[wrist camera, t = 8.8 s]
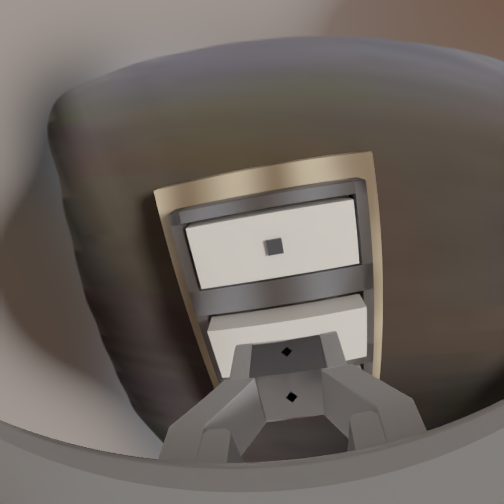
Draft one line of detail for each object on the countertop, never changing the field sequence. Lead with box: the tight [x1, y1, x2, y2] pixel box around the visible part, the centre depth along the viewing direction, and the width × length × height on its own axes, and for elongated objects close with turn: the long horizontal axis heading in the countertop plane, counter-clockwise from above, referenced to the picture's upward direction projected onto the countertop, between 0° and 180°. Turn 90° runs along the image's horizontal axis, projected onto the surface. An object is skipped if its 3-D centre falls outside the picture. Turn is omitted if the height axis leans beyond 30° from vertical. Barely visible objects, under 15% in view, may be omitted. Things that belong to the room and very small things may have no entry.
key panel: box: [154, 151, 383, 422], centre depth 24 cm, size 16×24×4 cm, turn 11°
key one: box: [186, 195, 359, 289], centre depth 21 cm, size 11×4×2 cm, turn 101°
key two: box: [207, 294, 367, 378], centre depth 21 cm, size 11×4×2 cm, turn 101°
